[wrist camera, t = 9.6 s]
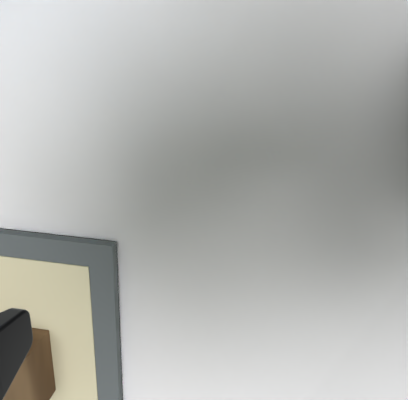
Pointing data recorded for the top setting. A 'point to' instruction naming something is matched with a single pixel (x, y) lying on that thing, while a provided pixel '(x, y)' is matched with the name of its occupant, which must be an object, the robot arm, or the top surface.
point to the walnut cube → (35, 371)
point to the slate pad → (68, 306)
